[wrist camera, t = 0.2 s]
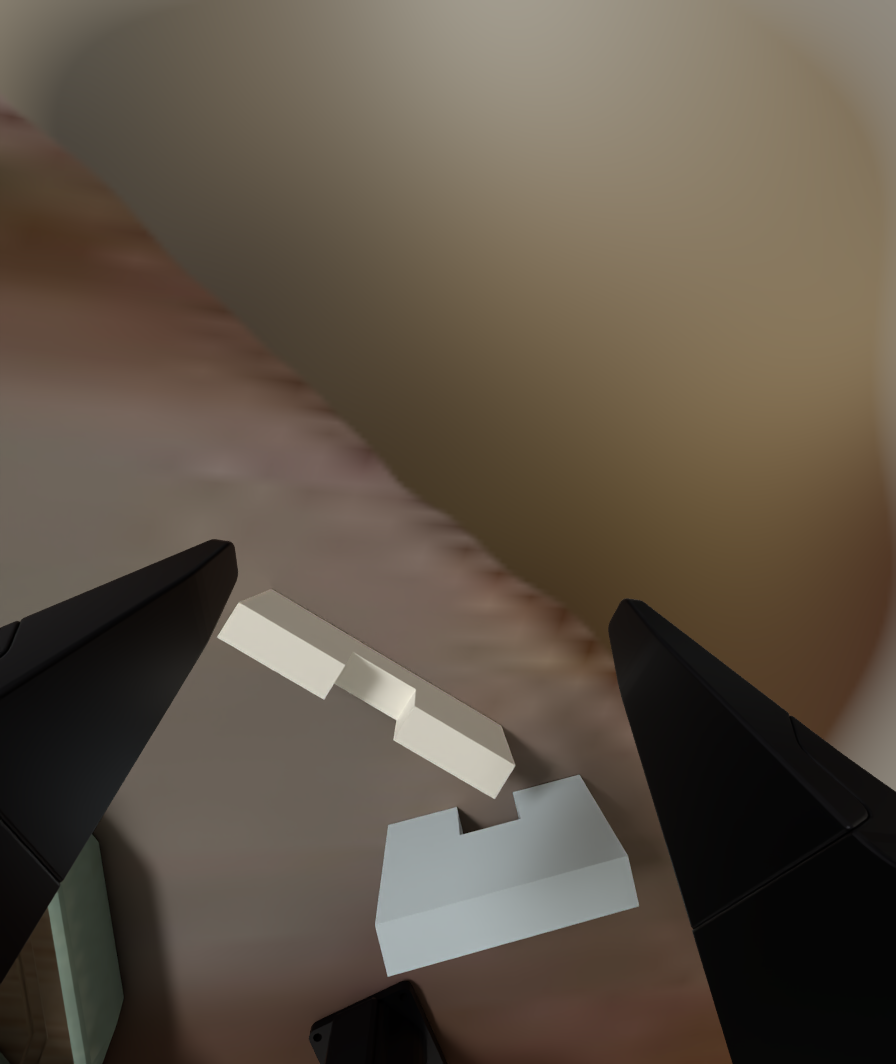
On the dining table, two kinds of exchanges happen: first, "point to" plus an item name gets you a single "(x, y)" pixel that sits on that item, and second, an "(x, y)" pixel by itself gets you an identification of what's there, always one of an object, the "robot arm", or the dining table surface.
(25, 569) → the dining table surface
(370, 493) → the dining table surface
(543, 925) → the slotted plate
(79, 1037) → the tea set
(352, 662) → the slotted rib
